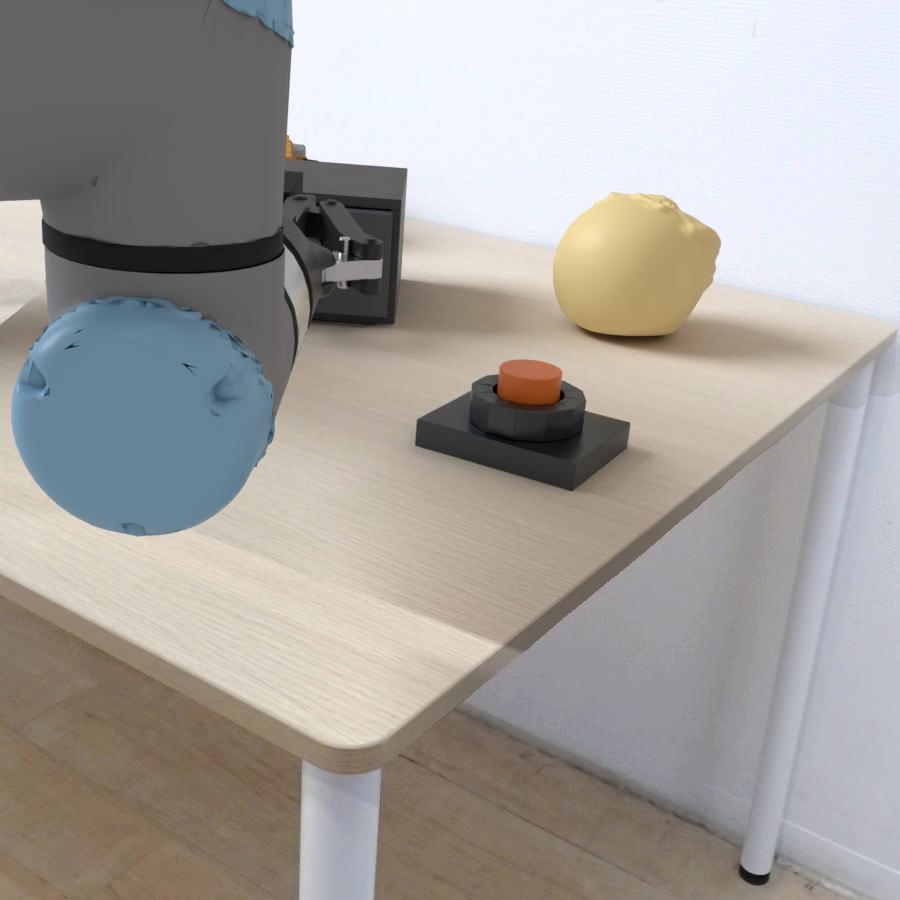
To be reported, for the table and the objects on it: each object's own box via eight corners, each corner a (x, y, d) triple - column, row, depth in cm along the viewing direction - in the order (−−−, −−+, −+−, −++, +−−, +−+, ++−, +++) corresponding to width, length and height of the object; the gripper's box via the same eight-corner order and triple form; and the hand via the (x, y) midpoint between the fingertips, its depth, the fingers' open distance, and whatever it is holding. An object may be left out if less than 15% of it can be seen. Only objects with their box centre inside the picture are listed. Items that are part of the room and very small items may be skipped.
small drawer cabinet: (394, 325, 90) (401, 199, 86) (229, 313, 89) (229, 186, 86) (400, 278, 103) (407, 168, 100) (257, 267, 103) (259, 156, 99)
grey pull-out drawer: (383, 334, 84) (389, 226, 81) (224, 323, 84) (225, 214, 81) (393, 274, 101) (398, 182, 98) (260, 264, 101) (262, 172, 98)
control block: (414, 446, 68) (418, 389, 66) (480, 409, 74) (484, 356, 73) (572, 492, 63) (579, 432, 62) (627, 448, 70) (635, 393, 69)
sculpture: (725, 336, 94) (748, 201, 90) (631, 360, 86) (652, 213, 82) (614, 301, 101) (631, 175, 97) (519, 320, 94) (533, 184, 90)
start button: (485, 398, 67) (488, 369, 66) (514, 383, 70) (517, 355, 69) (542, 413, 65) (545, 384, 65) (569, 397, 68) (572, 368, 68)
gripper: (65, 374, 50) (181, 247, 71) (373, 397, 50) (395, 264, 72) (56, 196, 47) (180, 120, 68) (383, 222, 47) (403, 138, 69)
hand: (290, 194), depth 70 cm, fingers closed
